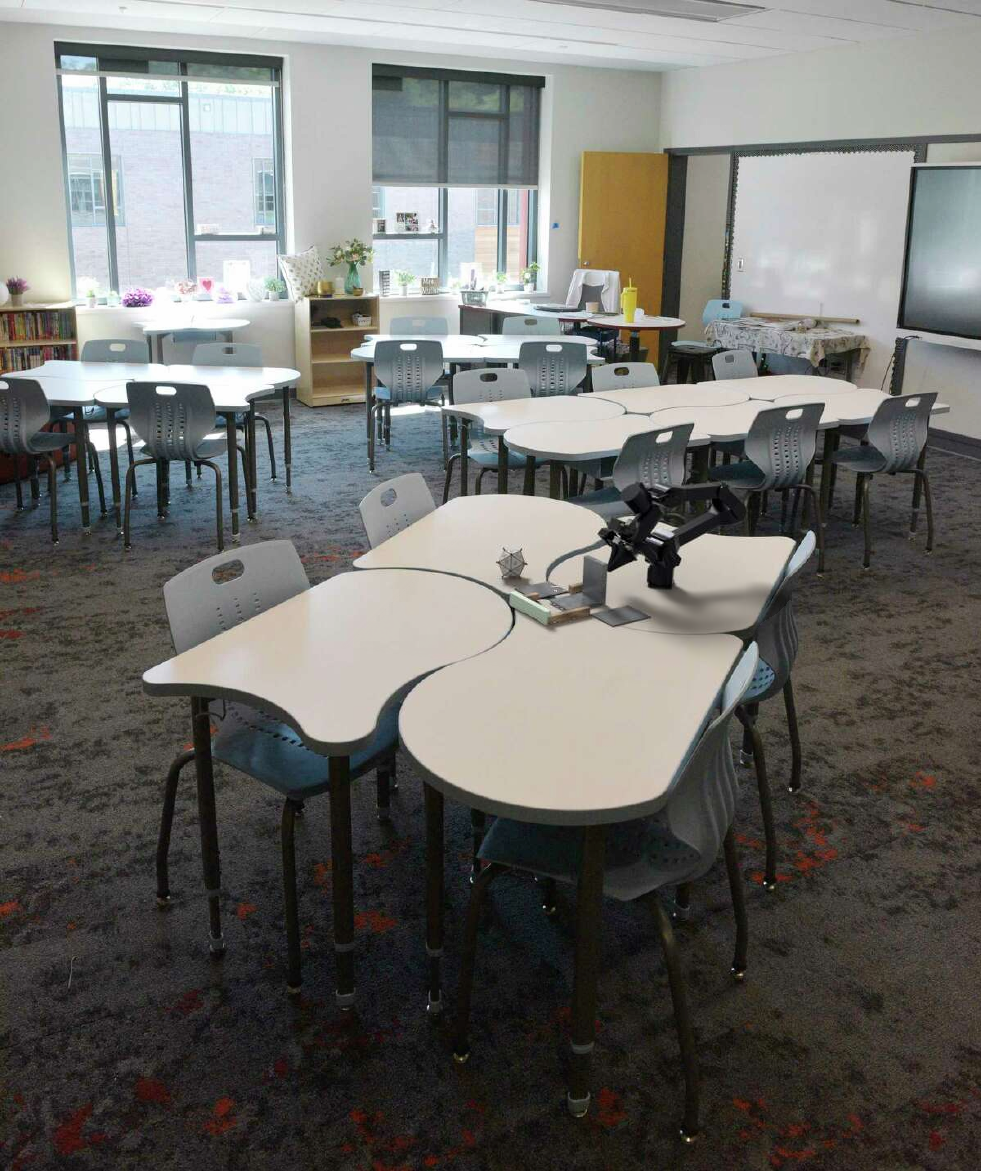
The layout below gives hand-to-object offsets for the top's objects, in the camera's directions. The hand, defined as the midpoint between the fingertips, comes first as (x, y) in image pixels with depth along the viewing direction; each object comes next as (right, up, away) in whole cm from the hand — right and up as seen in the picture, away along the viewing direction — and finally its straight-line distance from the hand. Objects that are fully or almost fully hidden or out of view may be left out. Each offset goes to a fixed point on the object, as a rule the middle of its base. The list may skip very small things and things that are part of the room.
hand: (607, 571), depth 279 cm
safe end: (-21, -11, -10) cm, 25 cm away
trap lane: (-10, -9, -4) cm, 14 cm away
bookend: (-8, -8, -2) cm, 12 cm away
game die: (-24, -2, +16) cm, 30 cm away
